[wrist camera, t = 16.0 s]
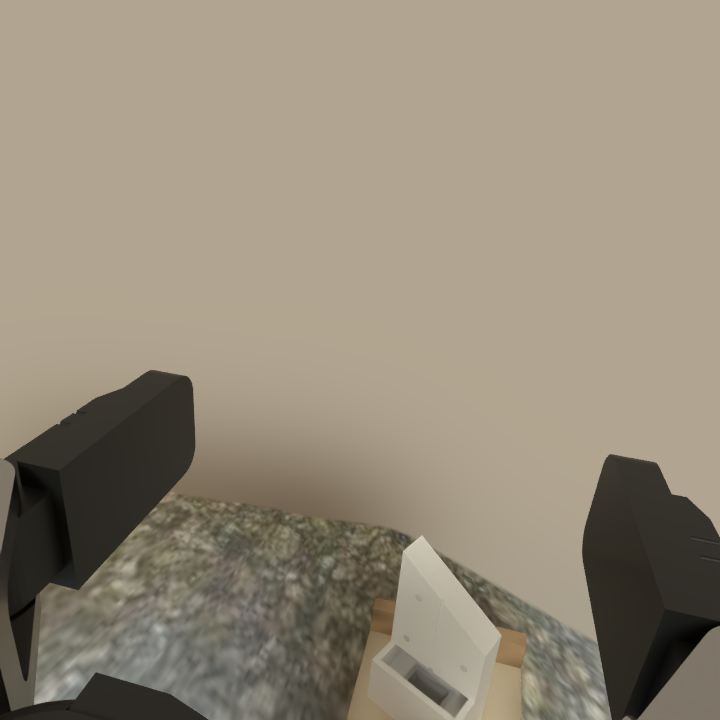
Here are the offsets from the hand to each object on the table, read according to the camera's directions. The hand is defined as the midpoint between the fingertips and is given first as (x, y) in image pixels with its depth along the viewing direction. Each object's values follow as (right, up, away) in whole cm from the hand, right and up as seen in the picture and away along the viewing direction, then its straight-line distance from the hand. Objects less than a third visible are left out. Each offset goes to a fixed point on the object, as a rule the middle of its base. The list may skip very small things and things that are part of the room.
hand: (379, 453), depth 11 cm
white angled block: (+3, -19, +23) cm, 30 cm away
